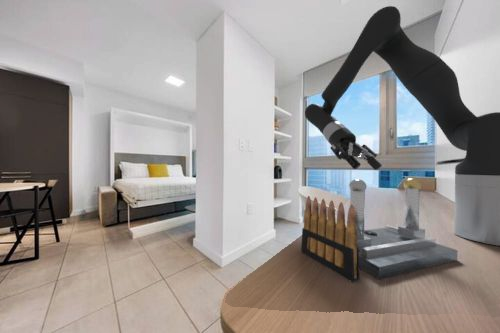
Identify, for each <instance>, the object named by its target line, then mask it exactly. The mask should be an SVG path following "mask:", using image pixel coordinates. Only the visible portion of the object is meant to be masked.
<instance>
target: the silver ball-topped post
mask: <svg viewBox="0 0 500 333" xmlns="http://www.w3.org/2000/svg"><path fill="white" fill-rule="evenodd" d="M348 187H349V190H350V191H349V192H350V196H349V197H350V198H349V206H350V205H351V204H352V205H353V206H354V209H355V215H356V229H357V247H358V251H360V250H362V248H364V247H370V246H371V238H368V237H366V236H364V230H365V215H366V214H365V211H366V210H365V208H366V206H365V205H366V200H365V199H366V191H367V188H368V187H367V184H366V182H365V181H364V180H362V179H360V178H356V179H353V180H351V181H350V182H349V185H348Z"/></svg>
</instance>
